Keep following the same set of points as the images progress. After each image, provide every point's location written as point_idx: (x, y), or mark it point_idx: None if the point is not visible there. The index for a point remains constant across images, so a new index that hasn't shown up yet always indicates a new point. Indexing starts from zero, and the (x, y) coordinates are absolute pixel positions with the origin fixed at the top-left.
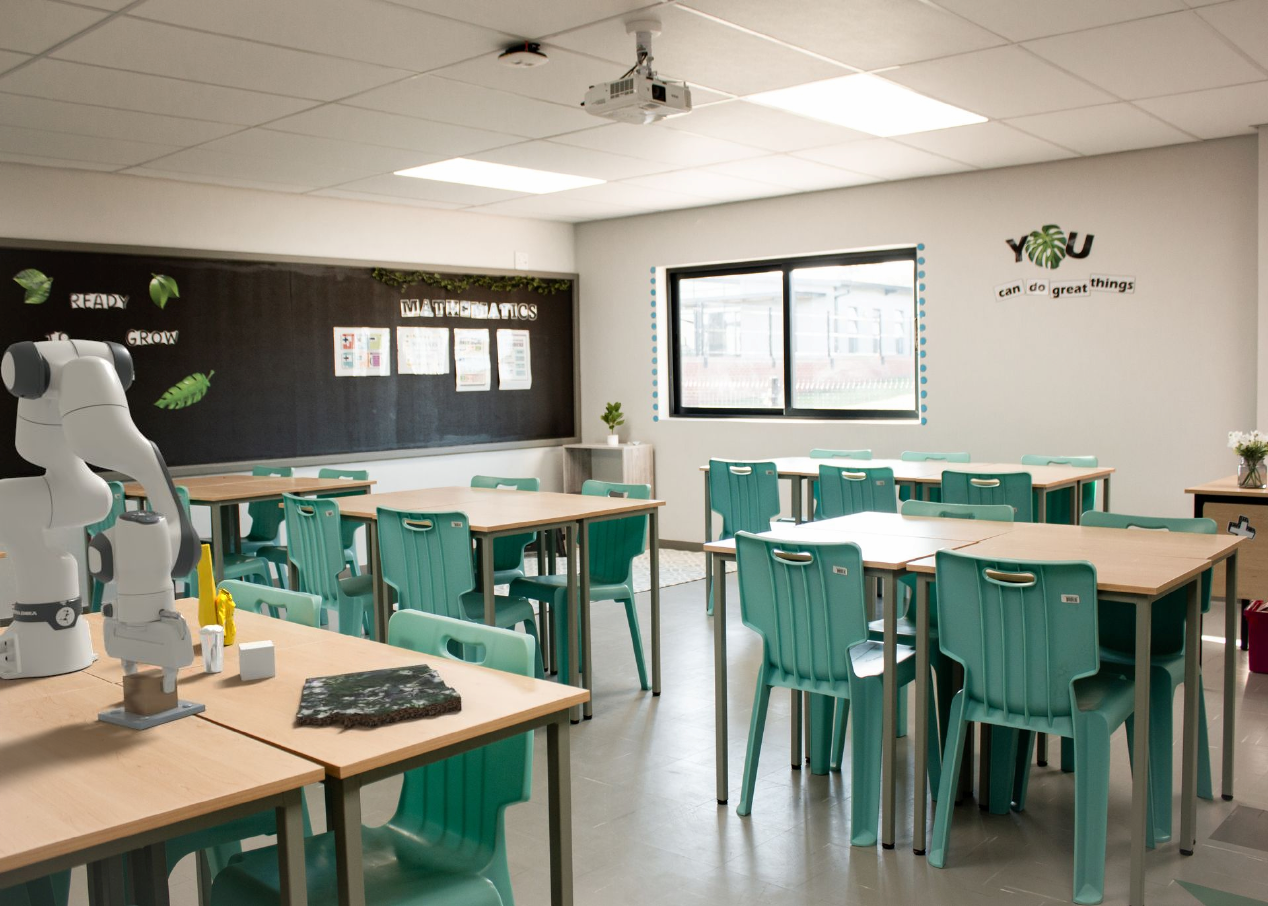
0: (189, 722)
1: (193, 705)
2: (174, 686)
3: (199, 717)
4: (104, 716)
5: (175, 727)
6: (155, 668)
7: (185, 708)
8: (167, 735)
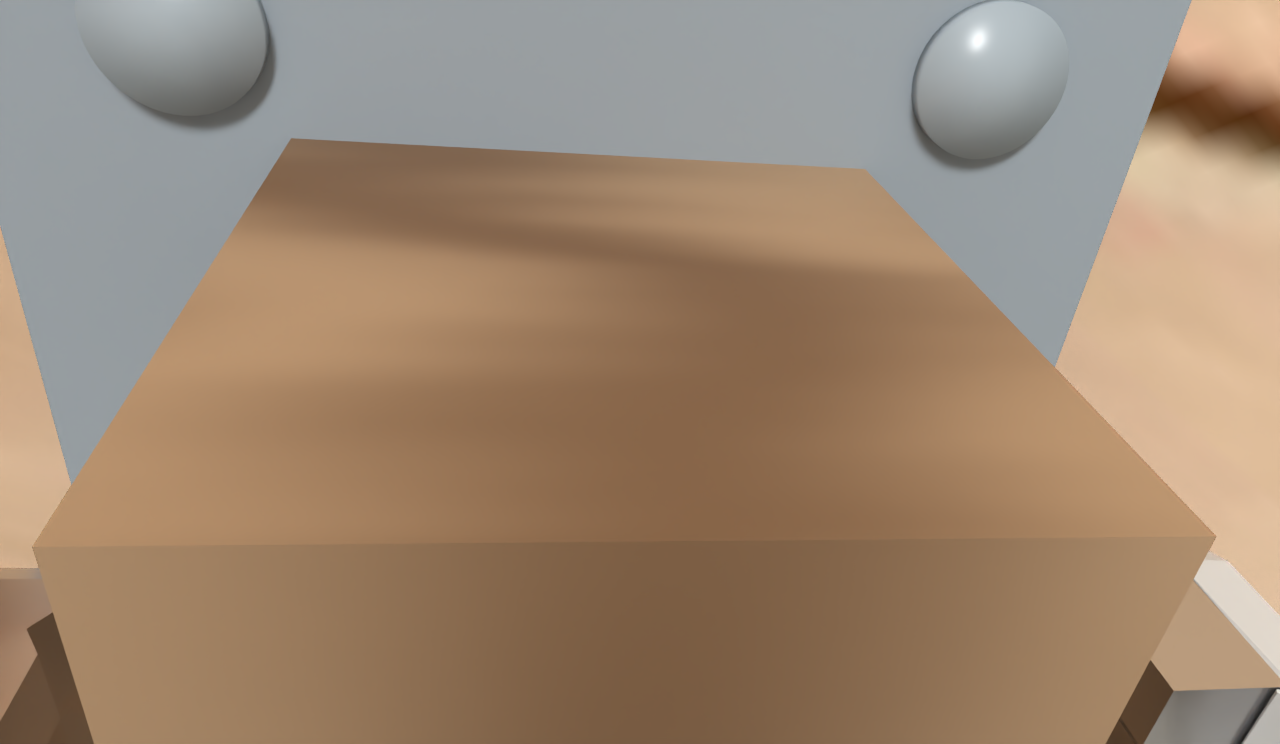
0: (1247, 338)
1: (1057, 9)
2: (1255, 599)
3: (1263, 160)
4: None
5: (1191, 492)
6: (97, 564)
7: (1036, 179)
8: None
